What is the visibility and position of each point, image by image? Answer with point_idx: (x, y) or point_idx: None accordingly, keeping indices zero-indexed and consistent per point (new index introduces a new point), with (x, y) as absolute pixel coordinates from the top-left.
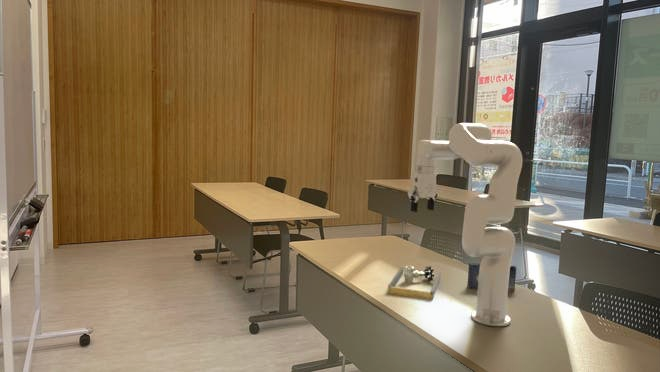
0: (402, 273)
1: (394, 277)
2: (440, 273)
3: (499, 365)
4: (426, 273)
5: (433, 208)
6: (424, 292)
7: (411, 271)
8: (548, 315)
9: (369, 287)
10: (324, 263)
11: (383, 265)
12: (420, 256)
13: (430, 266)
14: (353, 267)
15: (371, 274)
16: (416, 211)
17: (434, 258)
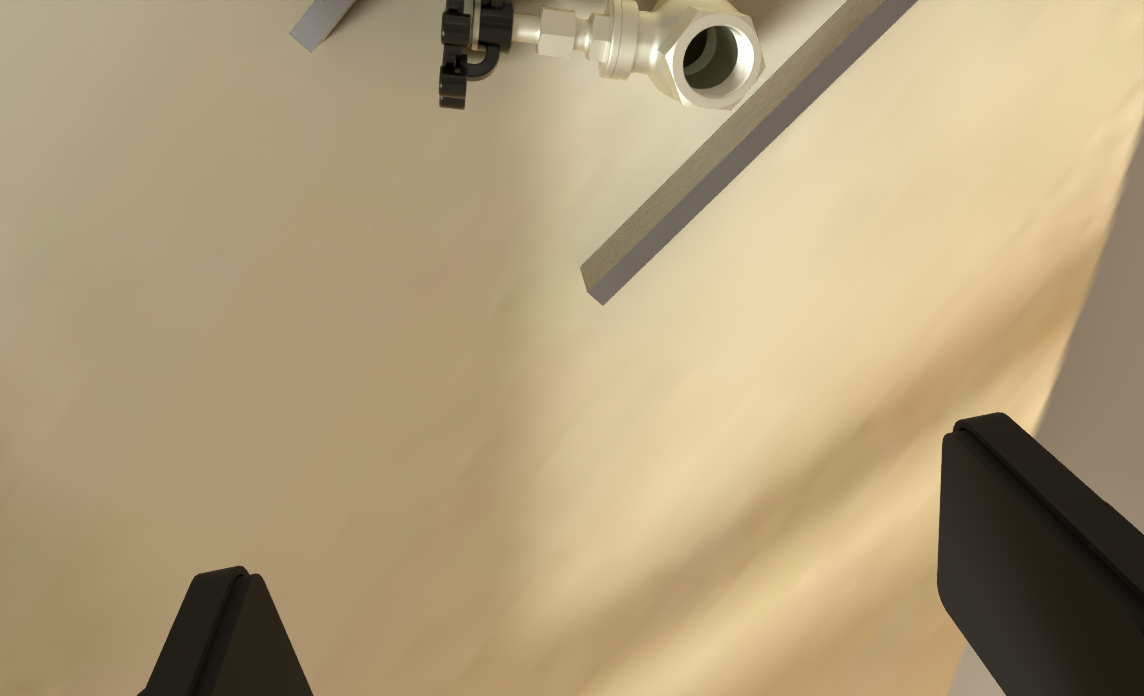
0: (595, 257)
1: (883, 25)
2: (297, 24)
3: None
4: (508, 1)
5: (192, 608)
6: None
7: (713, 10)
8: None
9: (1093, 25)
10: None
11: (589, 509)
12: (126, 650)
13: (452, 17)
14: (841, 514)
15: (834, 332)
16: (991, 418)
17: (16, 584)
